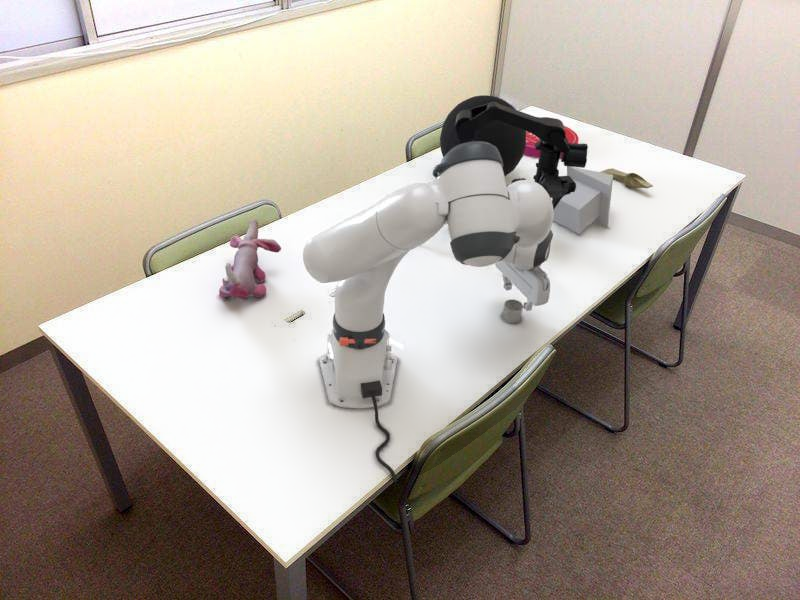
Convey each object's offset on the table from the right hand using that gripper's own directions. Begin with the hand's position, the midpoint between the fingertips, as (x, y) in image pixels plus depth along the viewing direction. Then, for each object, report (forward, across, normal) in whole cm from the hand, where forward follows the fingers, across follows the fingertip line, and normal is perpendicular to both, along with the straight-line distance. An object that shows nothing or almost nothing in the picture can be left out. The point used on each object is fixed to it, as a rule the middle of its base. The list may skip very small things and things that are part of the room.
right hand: (538, 210), depth 201 cm
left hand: (+4, -20, -36) cm, 42 cm away
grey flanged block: (+11, +22, +10) cm, 26 cm away
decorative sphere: (+11, -5, +42) cm, 44 cm away
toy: (+11, -90, -8) cm, 91 cm away
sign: (+11, +31, +70) cm, 77 cm away
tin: (+11, -20, -36) cm, 42 cm away
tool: (+11, +50, +32) cm, 60 cm away
